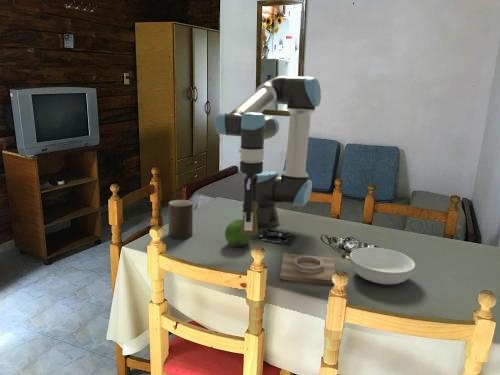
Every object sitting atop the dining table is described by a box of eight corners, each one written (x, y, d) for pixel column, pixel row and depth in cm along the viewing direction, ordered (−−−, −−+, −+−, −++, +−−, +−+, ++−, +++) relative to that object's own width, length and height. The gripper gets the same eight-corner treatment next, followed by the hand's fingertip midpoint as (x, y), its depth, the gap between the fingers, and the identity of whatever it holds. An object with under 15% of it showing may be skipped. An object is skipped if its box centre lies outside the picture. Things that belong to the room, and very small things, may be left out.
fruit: (234, 235, 173) (235, 212, 171) (257, 239, 170) (258, 215, 168) (220, 248, 160) (220, 223, 157) (244, 253, 156) (245, 227, 154)
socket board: (283, 257, 154) (284, 249, 153) (333, 261, 152) (333, 253, 151) (279, 279, 137) (280, 270, 136) (335, 285, 134) (336, 276, 134)
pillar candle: (185, 240, 166) (186, 204, 162) (164, 236, 169) (163, 201, 165) (196, 232, 175) (197, 198, 171) (175, 229, 178) (175, 195, 174)
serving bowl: (426, 288, 134) (429, 269, 133) (369, 296, 128) (371, 275, 127) (388, 261, 154) (390, 244, 152) (337, 267, 148) (338, 248, 146)
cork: (256, 236, 141) (257, 204, 138) (238, 234, 142) (239, 203, 139) (259, 229, 147) (260, 199, 144) (242, 228, 148) (243, 198, 145)
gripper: (244, 154, 147) (242, 217, 153) (235, 165, 129) (234, 235, 136) (265, 156, 146) (263, 219, 152) (259, 167, 129) (257, 237, 135)
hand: (249, 227), depth 144 cm, fingers closed on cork, 5 cm apart
